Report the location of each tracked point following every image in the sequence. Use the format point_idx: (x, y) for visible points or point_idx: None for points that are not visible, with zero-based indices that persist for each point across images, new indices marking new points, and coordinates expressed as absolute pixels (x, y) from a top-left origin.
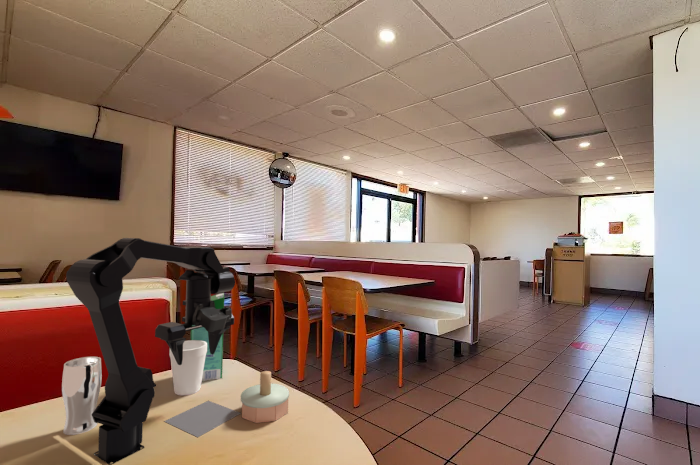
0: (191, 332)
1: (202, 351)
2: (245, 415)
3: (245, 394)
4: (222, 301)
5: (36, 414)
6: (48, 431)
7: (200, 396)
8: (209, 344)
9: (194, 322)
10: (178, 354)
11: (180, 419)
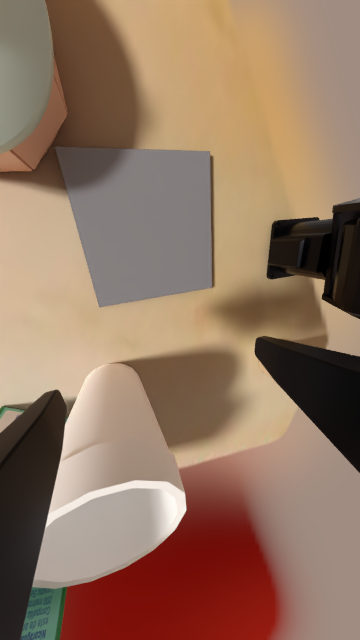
0: None
1: (70, 476)
2: (59, 80)
3: (5, 95)
4: None
5: (273, 421)
6: None
7: (98, 349)
8: (52, 482)
9: None
10: (338, 353)
11: (190, 267)
